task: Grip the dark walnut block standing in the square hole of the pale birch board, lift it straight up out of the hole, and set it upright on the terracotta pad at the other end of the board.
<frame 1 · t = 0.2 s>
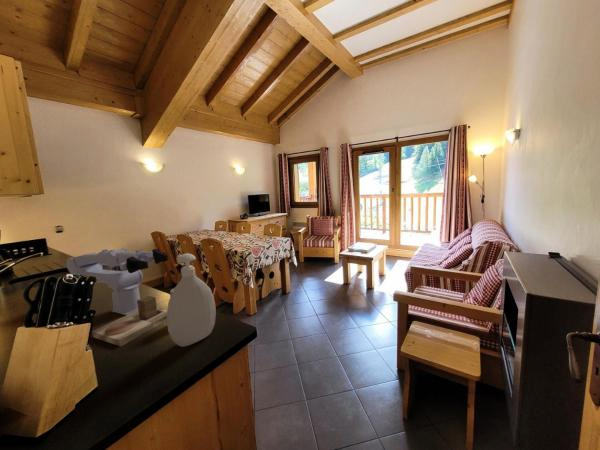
hand: (157, 261, 89), 21 cm above the counter, tool horizontal, fingers open, 7 cm apart
soap bottle: (194, 339, 78), on the counter
walnut block: (148, 319, 91), resting in holder board
natural sponge: (73, 380, 63), on the counter
energy drink: (182, 322, 89), on the counter
holder board: (136, 326, 87), on the counter
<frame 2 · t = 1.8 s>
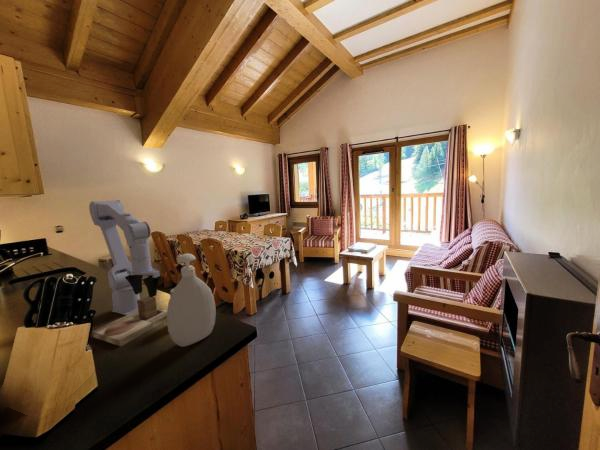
hand: (145, 294, 90), 9 cm above the counter, tool pointing down, fingers open, 7 cm apart
nothing on the counter moved.
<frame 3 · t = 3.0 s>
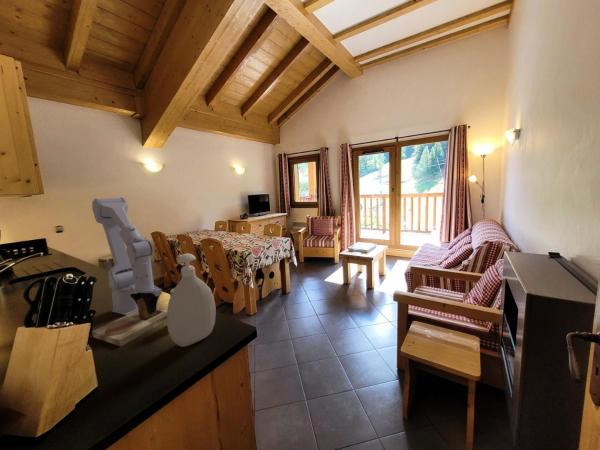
hand: (147, 311, 91), 3 cm above the counter, tool pointing down, fingers closed on walnut block, 4 cm apart
walnut block: (148, 319, 91), resting in holder board, touching gripper
everything else where it was.
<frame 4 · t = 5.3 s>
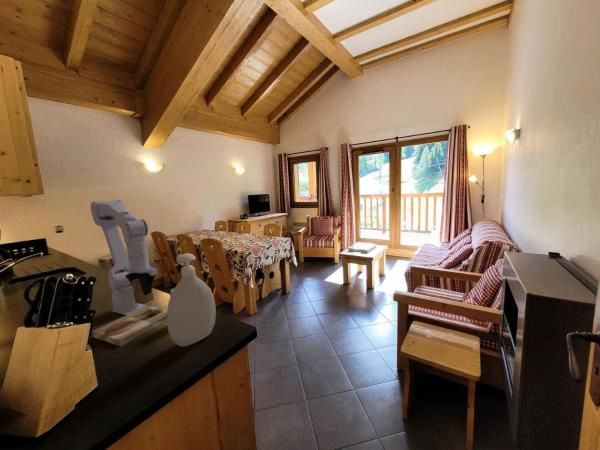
hand: (143, 293, 89), 10 cm above the counter, tool pointing down, fingers closed on walnut block, 4 cm apart
walnut block: (144, 301, 89), point 7 cm above the counter, touching gripper
everything else where it was.
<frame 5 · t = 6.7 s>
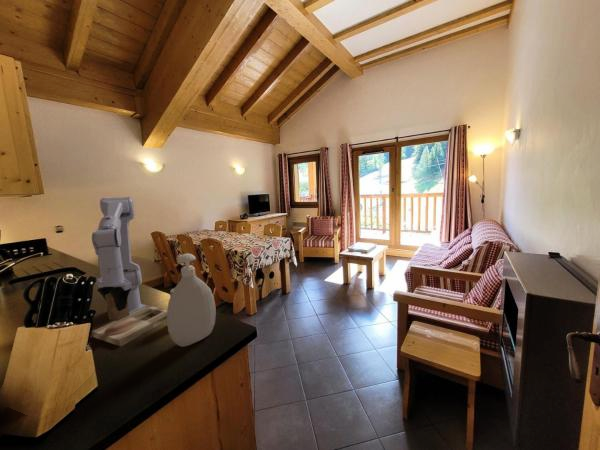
hand: (117, 308, 81), 9 cm above the counter, tool pointing down, fingers closed on walnut block, 4 cm apart
walnut block: (119, 317, 82), point 6 cm above the counter, touching gripper
everything else where it was.
when the fingers open (6 cm above the counter, at t = 7.6 s): walnut block stays where it is, resting on holder board.
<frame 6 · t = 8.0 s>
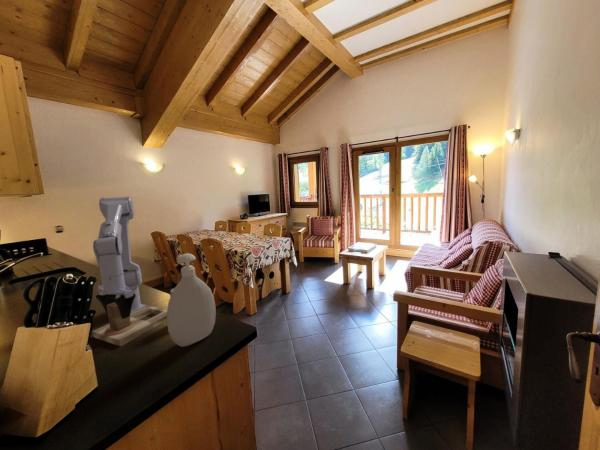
hand: (118, 315, 82), 6 cm above the counter, tool pointing down, fingers open, 7 cm apart
walnut block: (120, 326, 82), point 2 cm above the counter, touching holder board
everything else where it was.
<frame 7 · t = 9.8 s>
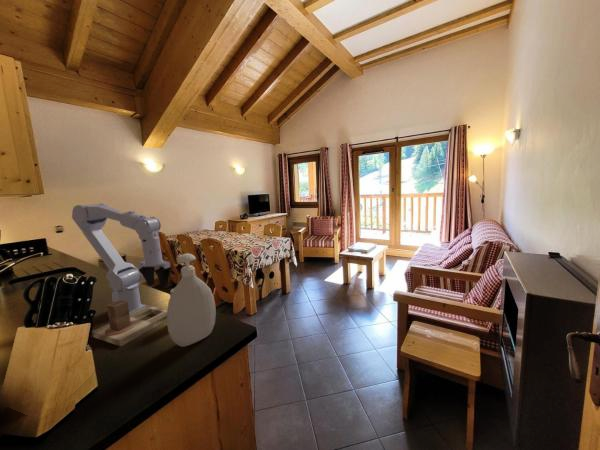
hand: (157, 285, 95), 10 cm above the counter, tool pointing down, fingers open, 7 cm apart
nothing on the counter moved.
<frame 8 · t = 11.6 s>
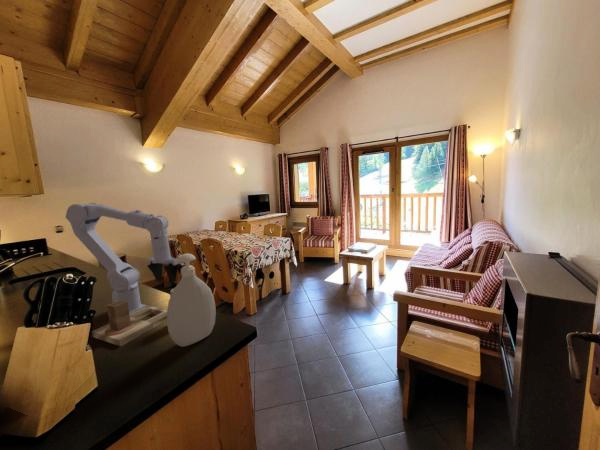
hand: (166, 281, 100), 10 cm above the counter, tool pointing down, fingers open, 7 cm apart
nothing on the counter moved.
at the end: walnut block 0.1 cm from the target spot, point 2.4 cm above the counter; walnut block tilted 0°; the gripper is holding nothing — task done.
